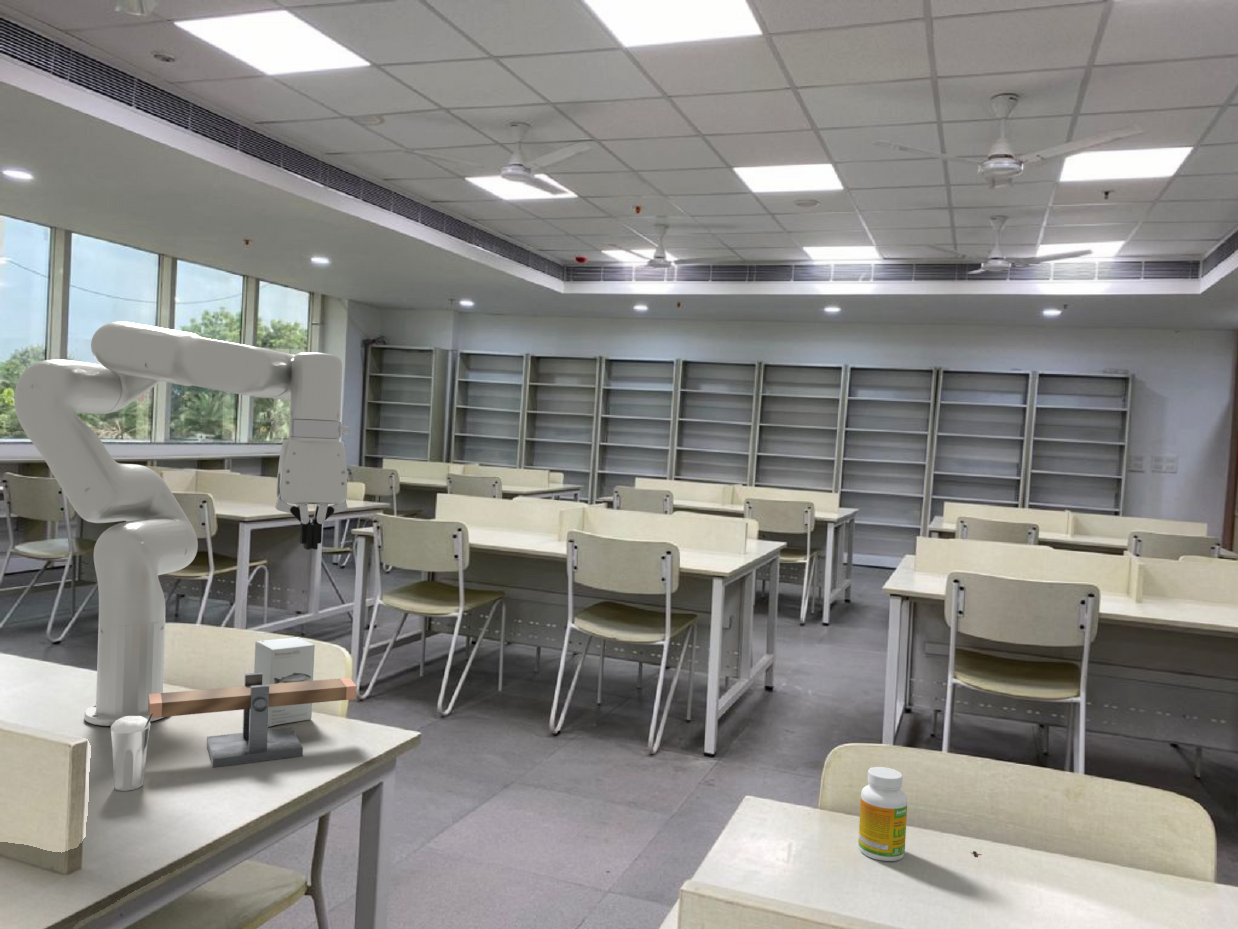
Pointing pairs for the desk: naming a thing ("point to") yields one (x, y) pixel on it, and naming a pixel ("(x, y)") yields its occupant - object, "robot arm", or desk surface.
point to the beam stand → (254, 733)
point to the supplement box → (285, 673)
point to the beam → (241, 697)
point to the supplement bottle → (883, 815)
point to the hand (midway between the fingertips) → (310, 548)
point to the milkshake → (129, 751)
